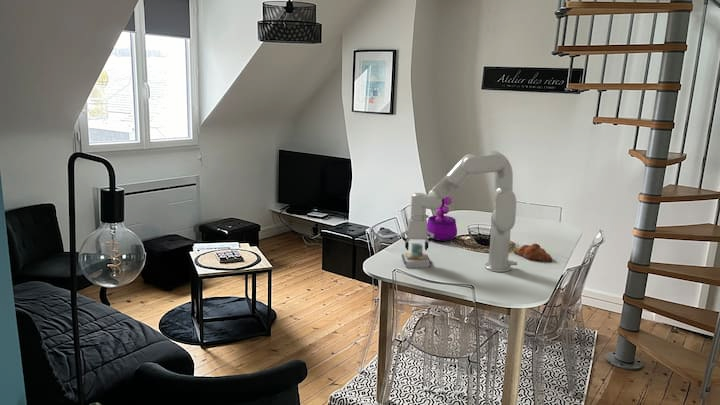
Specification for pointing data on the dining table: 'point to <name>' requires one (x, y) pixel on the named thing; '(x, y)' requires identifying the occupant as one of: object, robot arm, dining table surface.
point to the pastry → (533, 253)
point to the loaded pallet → (416, 252)
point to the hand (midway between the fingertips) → (416, 249)
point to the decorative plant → (442, 223)
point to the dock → (416, 262)
